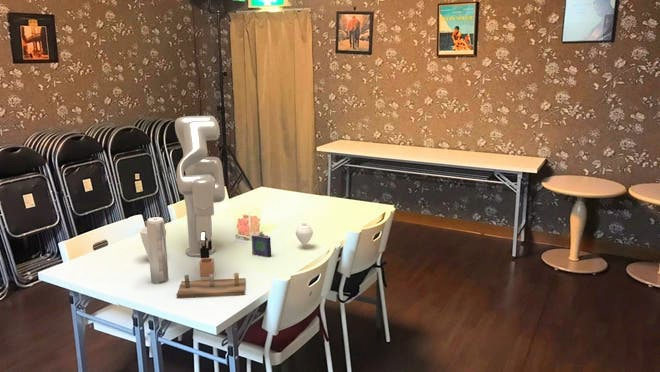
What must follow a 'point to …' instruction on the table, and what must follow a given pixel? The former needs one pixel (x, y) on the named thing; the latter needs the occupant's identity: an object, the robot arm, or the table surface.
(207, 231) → the robot arm
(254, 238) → the flask
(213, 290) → the pin board
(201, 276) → the sleeve
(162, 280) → the beige tall cylinder
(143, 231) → the cup
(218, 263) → the table surface
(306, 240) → the spinning top
